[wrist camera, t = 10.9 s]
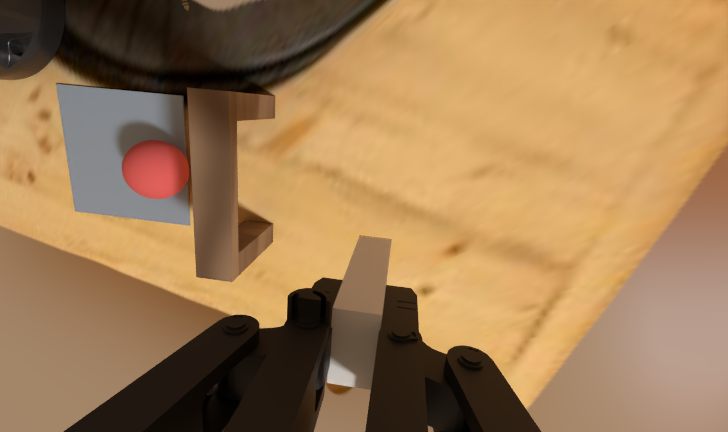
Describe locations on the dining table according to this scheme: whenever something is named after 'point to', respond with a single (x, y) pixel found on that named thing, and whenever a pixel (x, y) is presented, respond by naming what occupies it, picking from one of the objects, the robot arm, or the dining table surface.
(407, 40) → the dining table surface
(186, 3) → the game die
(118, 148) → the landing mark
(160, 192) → the ball
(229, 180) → the bridge
